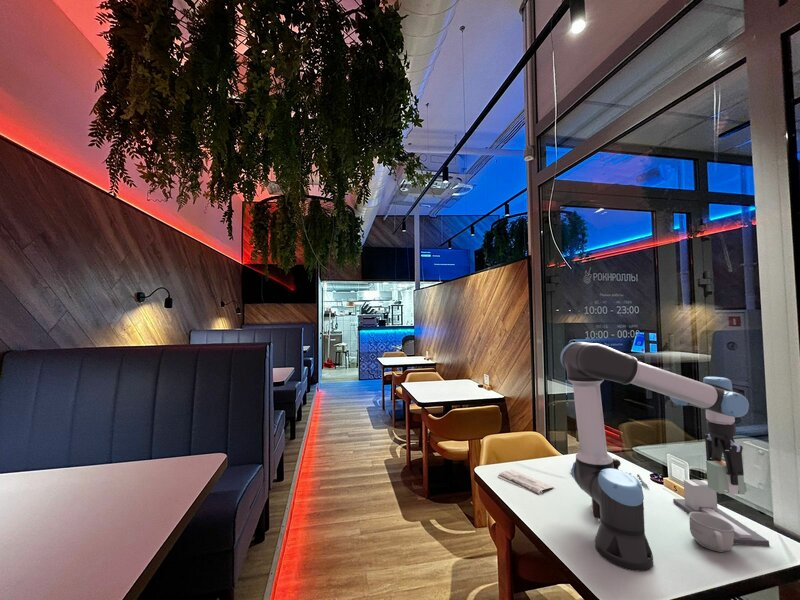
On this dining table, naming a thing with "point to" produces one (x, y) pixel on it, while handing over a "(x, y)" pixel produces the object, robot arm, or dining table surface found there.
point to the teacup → (711, 531)
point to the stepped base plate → (715, 511)
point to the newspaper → (524, 481)
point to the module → (721, 477)
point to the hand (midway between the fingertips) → (726, 489)
